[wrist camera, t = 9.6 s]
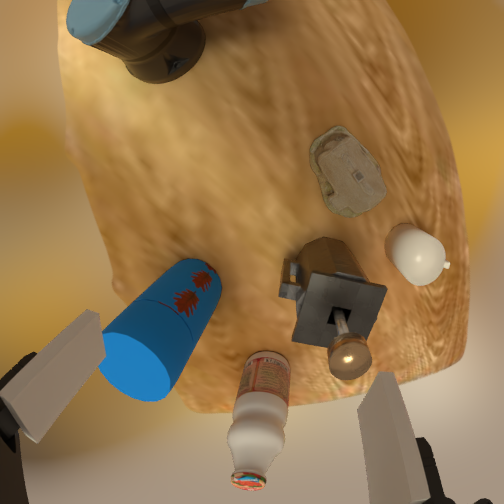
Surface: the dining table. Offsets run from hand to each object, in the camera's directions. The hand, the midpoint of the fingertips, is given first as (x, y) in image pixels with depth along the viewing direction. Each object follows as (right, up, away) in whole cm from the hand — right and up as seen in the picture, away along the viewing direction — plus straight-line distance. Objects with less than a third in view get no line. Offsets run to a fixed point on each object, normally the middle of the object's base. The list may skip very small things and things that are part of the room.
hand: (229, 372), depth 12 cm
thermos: (-10, -1, +41) cm, 42 cm away
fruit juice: (+4, -18, +44) cm, 48 cm away
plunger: (+12, 0, +29) cm, 31 cm away
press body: (+12, +3, +36) cm, 38 cm away
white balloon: (+28, +6, +33) cm, 44 cm away
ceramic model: (+16, +18, +31) cm, 39 cm away
